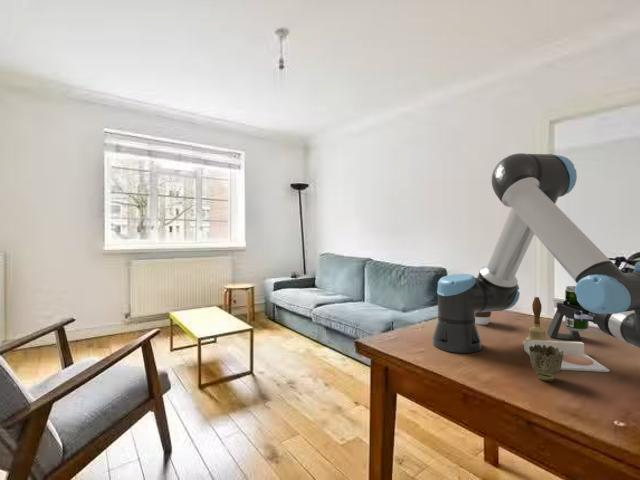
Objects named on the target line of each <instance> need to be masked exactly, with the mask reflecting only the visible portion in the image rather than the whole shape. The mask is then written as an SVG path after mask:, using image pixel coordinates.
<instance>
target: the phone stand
mask: <svg viewBox="0 0 640 480" xmlns="http://www.w3.org/2000/svg"><path fill="white" fill-rule="evenodd" d="M564 316H565V315H562V314H560V313H558V308H556V311H555V313H554V316H553V318H552V320H551V322H550V324H549V326H548V329H547V331H546V334H547V335H548V336H549V338H550V339H556V340H563V341H565V340H566V341H574V342H582V337H581V335H580V331H573V330H569V333H563V332H562V333H561V332H559V330H560V328H561V325H562V321H563V320H564Z"/></svg>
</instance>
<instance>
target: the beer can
mask: <svg viewBox="0 0 640 480" xmlns="http://www.w3.org/2000/svg"><path fill="white" fill-rule="evenodd" d="M575 287H576V285H567V286H566V288H565V292H564V301H568V302H569V304H571V305H575V306H579V307H582V306H581V305H580V304H579V302H578V301H577V296H576V294H575ZM564 316H565V315H564ZM564 318H565V319H564V320H565V322H564V324H565V328H566V329H568V330H569V331H570V330H573V331H578V332H588V330H589V327H590V325H589V322H590V321H586V320H585V319H582V321H581V322H577V321H575V320H574V319H572V318H569V317H567V316H565V317H564Z"/></svg>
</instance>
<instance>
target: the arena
mask: <svg viewBox="0 0 640 480" xmlns="http://www.w3.org/2000/svg"><path fill="white" fill-rule="evenodd" d="M523 342H524V344H523V347H524V349H523V350H524V352H525V353H526V354H527V355H528V356H530V352H529V347H531V345H532V347H534V345H535V344H536V346H537V345H540V346H541V347H543V345H545V346H546V348H547V347H549V346H553V347H554V348H555V349H556V348H558V349H559V352H561V351H562V350H563V358H562V365H561V369H560V371H561V370H565V371H579V372H580V371H583V372H598V373H599V372H600V373H601V372H602V373H610V369H608V368H607V367H606V366H604V365H603V364H601V363H599V362H598V361H597V360H595V359H594V358H592V357H591V356H589V355H588V354H587V353H585V343H584V342H582V341H571V340H566V341H565V340H548V341H545V340H526V339H524V340H523Z"/></svg>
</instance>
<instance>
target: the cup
mask: <svg viewBox="0 0 640 480" xmlns="http://www.w3.org/2000/svg"><path fill="white" fill-rule="evenodd" d="M529 352H530V355H529V358H530V364H531V367H532V368H533V370H534V371H535V372H536V373H537V374H536V375H537V378H538V379H540V380H541V381H543V382H552V381H554V379H555V376H556V375H559V373H560V371H561V365H562V358H563V350H562V351H561V352H559V349H558V348H556V349H555V348H554V347H553V346H549V347H547V348H546V346H545V345H543V347H541V346H540V345H537V346H536V344H535V345H534V347H532V345H531V347H529Z"/></svg>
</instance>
